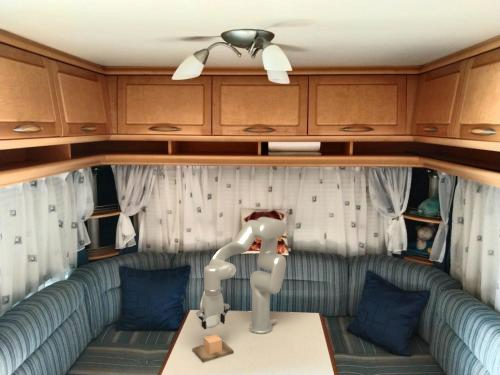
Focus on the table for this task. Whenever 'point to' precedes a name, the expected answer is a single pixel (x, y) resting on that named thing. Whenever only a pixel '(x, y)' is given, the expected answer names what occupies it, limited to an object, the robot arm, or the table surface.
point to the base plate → (205, 356)
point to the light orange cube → (212, 344)
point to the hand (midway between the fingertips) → (213, 325)
